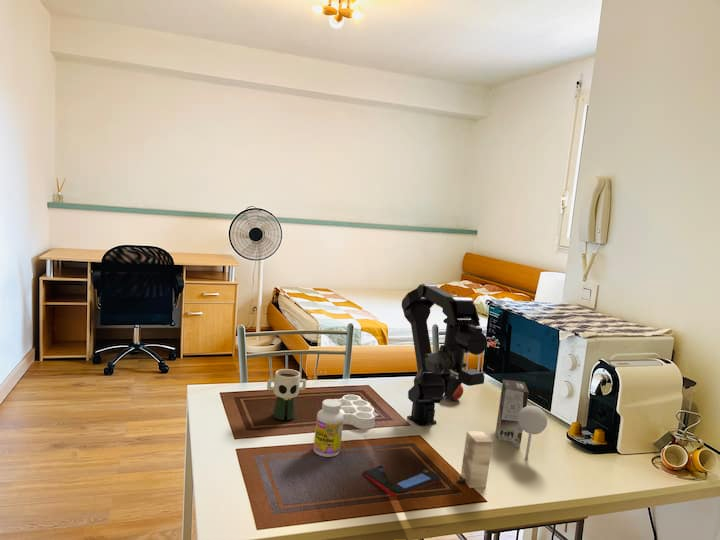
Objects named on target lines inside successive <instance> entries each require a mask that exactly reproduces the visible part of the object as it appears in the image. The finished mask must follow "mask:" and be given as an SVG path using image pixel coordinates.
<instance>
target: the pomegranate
mask: <svg viewBox="0 0 720 540" xmlns="http://www.w3.org/2000/svg"><path fill="white" fill-rule="evenodd" d="M463 394H464V387H463V383H461V384H460V385H459V386H458V388H457V389H456V391H455V392H454V394H453V395H452V397H451V398H450V399H452V400H453V401H457V400H459V399H460V398H462V396H463ZM443 398H445V394H444V395H443V397H442V399H443Z"/></svg>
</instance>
